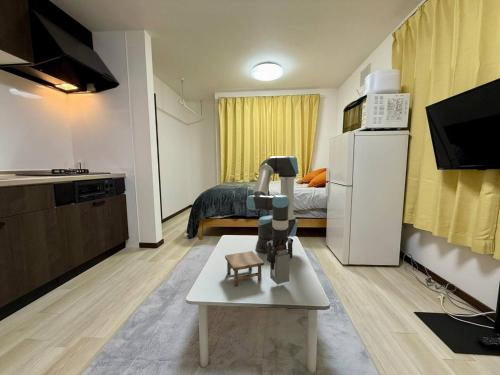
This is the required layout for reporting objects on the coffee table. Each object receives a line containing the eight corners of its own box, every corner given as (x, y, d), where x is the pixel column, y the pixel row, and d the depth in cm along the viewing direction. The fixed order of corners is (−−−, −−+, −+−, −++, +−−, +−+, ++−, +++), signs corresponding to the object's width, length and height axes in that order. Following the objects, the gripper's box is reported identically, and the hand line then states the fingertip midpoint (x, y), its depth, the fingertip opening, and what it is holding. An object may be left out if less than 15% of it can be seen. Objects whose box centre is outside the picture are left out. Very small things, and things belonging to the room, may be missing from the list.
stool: (252, 267, 126) (252, 251, 125) (264, 281, 112) (264, 262, 111) (225, 272, 120) (224, 255, 120) (234, 287, 106) (233, 267, 105)
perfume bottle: (270, 277, 109) (270, 242, 107) (281, 274, 112) (282, 240, 110) (277, 284, 103) (277, 247, 101) (289, 281, 106) (289, 245, 103)
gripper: (292, 223, 111) (291, 266, 114) (259, 227, 104) (259, 273, 107) (301, 227, 104) (300, 273, 107) (266, 232, 97) (266, 281, 100)
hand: (279, 273), depth 107 cm, fingers closed on perfume bottle, 5 cm apart
